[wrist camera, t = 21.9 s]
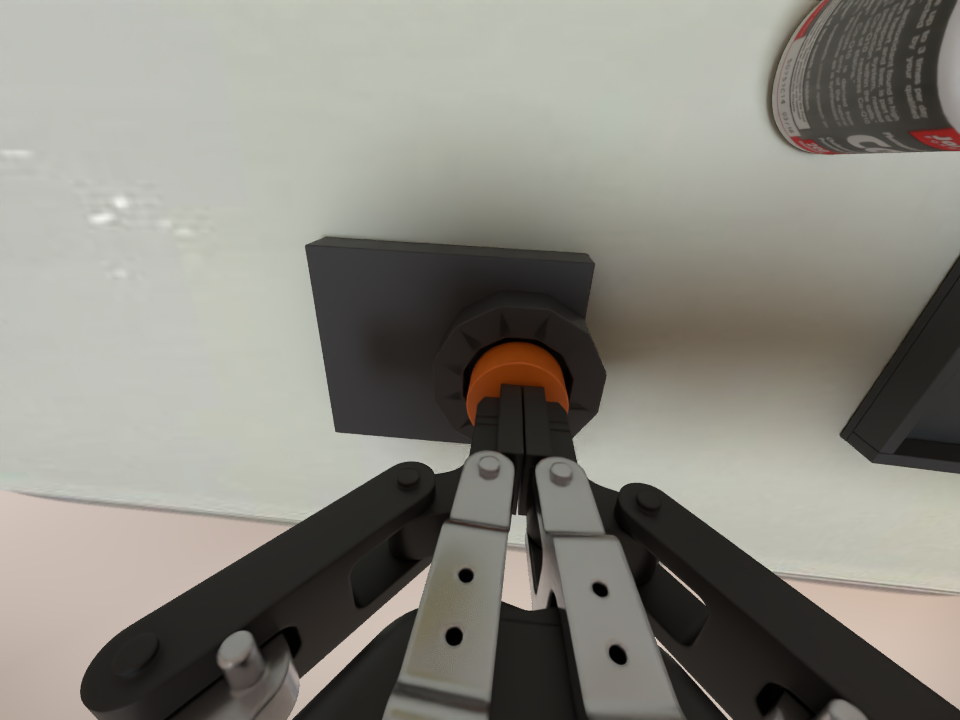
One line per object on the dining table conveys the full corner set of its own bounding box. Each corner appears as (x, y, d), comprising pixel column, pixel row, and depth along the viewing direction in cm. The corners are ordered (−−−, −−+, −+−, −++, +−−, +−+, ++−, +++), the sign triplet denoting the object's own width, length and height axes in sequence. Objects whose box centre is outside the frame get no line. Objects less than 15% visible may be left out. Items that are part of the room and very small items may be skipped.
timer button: (570, 344, 14) (576, 367, 13) (556, 423, 16) (561, 452, 14) (472, 337, 14) (467, 358, 13) (469, 416, 16) (464, 443, 14)
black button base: (606, 254, 16) (629, 277, 12) (571, 431, 20) (582, 482, 17) (323, 236, 16) (278, 254, 13) (348, 412, 20) (318, 457, 17)
